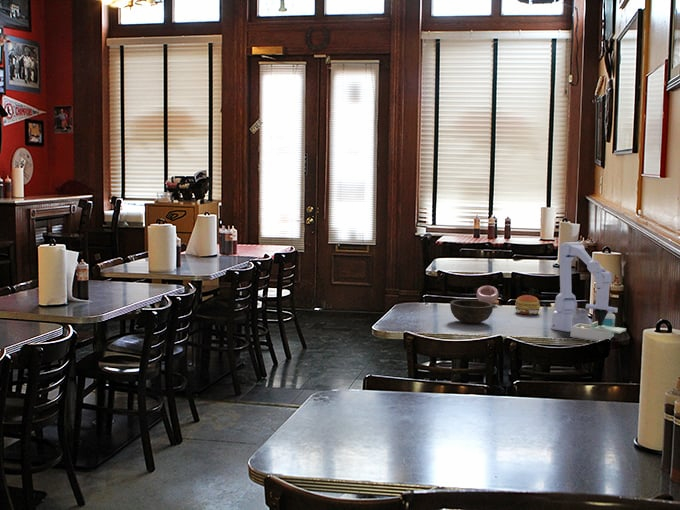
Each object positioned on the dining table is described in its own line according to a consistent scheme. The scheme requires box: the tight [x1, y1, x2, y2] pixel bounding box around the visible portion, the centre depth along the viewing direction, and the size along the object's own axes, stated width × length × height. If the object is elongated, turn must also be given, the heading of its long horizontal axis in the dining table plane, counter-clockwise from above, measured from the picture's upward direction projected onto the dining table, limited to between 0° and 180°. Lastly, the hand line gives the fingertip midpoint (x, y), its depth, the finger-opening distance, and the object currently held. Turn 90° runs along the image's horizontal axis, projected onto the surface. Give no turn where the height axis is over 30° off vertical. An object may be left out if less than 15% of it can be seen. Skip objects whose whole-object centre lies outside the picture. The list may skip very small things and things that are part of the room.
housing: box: [569, 322, 612, 342], centre depth 399 cm, size 16×10×6 cm, turn 53°
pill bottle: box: [603, 311, 616, 339], centre depth 405 cm, size 8×7×14 cm
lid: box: [590, 320, 627, 334], centre depth 394 cm, size 14×9×2 cm, turn 53°
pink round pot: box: [476, 284, 499, 305], centre depth 480 cm, size 12×12×11 cm
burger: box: [514, 294, 541, 315], centre depth 458 cm, size 14×14×10 cm
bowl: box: [449, 299, 494, 325], centre depth 428 cm, size 22×22×10 cm
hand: (600, 325), depth 396 cm, fingers closed
